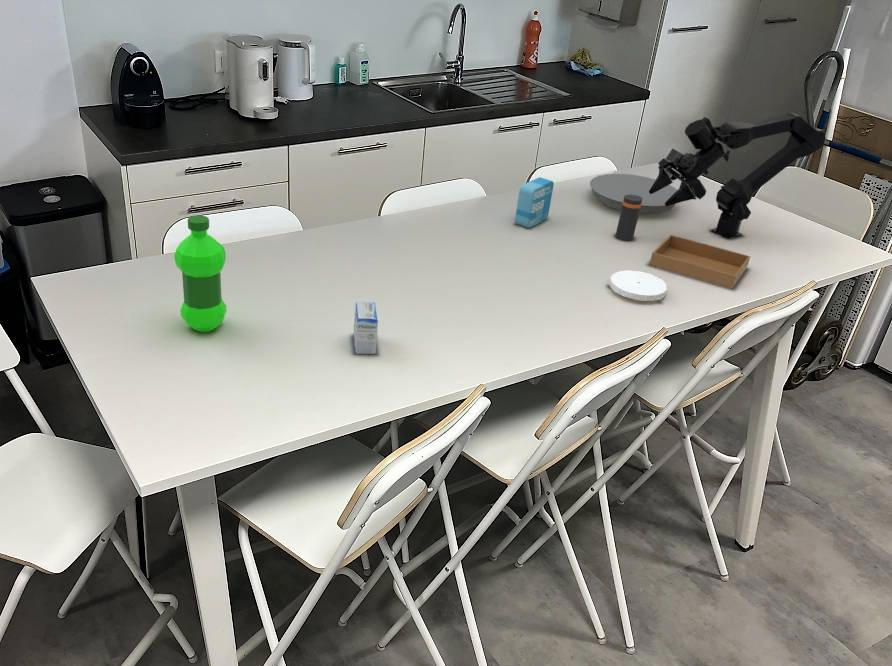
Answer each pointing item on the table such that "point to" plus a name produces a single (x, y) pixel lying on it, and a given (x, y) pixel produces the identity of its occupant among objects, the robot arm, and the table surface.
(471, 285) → the table surface
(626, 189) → the flat disc
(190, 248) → the plastic bottle
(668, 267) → the brown wooden tray
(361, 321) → the medicine box
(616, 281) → the plastic lid
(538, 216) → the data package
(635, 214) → the dark grey cylinder
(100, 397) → the table surface
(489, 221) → the table surface
